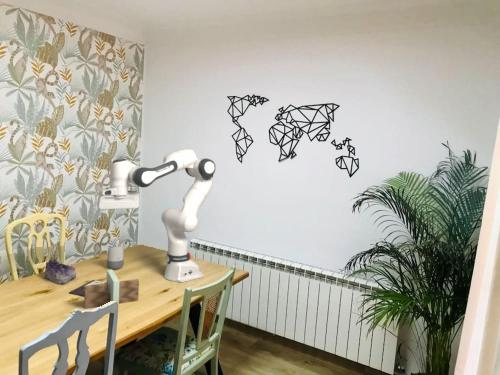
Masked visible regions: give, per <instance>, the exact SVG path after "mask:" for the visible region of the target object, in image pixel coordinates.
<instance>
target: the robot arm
mask: <svg viewBox="0 0 500 375" xmlns="http://www.w3.org/2000/svg"><path fill="white" fill-rule="evenodd" d="M183 170H184V171H185V172H186V174H187V176H190V177H192V178H194V181H193V184H191V186H190V187H189V188H188V190H187V192H186V193H185V195H184V196H183V197H182V202H183V206H182V208H181V209H177V208H166V209H165V210H164V211H163V212H162V214H161V221H162V223H163V224H164V227H165V231H166V234H167V240H168V243H167V253H166V268H165V271H164V275H163V278H164V279H165V280H168V281H171V282H172V281H174V282H178V283H186V282H189V281H193V280H198V279H202V278H203V277H204V273H203V272H202V271H201V270H200V266H199V265H198V263H196V261H194V260H193V258H194V255H193V254H192V253H190V252H189V251H188V249H189V248H188V247H189V240H188V237H187V236H186V233H192V232H195V230H196V229H197V228H198V226H199V220H198V213H199V210H200V209H201V206H202V205H203V203H205V200H206V198H207V197H208V196H209V194H210V192H211V190H212V187H213V182H212V179H213V178H214V175H215V172H216V163H215V162H214V161H213V160H212V159H210V158H198V157H197V154H196V153H195V151H194V150H193V149H191V148H184V149H178V150H174V151H172V152H169V153H167V154H166V155H165V156H164V157H163V161H162V163H161V164H159V165H156V166H154V167H145V166H144V167H143V166H140V165H136V164H135V163H133V162H130V161H129V160H128V159H126V158H118V159H115V160H113V161H112V162H111V165H110V172H109V177H110V183H109V186H108V187H105V188H101V189H100V190H99V193H100V194H99V195H98V197H97V203H96V207H97V209H98V210H100V211H102V210H104V212H105V214H106V218H107V219H111V213H109V210H125V209H126V210H128V212H127V213H126V212H125V217H126V218H130V214H131V213H132V211H133V209H139V207H140V200H139V198H140V192H139V191H137V190H129V184H133V185H136V186H138V187H141V188H148V187H149V186H151V185H152V184H153V183H154V182H155V181H157V180H159V179H162V178H163V177H166V176H168V175H170V174H172V173H176V172H179V171H183Z"/></svg>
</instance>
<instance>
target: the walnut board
mask: <svg viewBox="0 0 500 375" xmlns="http://www.w3.org/2000/svg"><path fill="white" fill-rule="evenodd" d="M139 283H140V281H139V279H138V278H137V279H129V280H128V279H127V280H122V281H120V280H119V305H120V304H126V303H131V302H137V301H139V293H140V292H139V289H140V284H139ZM108 290H109V285H108V283H107V282H105V283H104V284H96V285H89V286H85V292H84V297H83V298H84V299H83V301H84V302H83V303H84V304H83V305H84V306H83V307H84V310H85V309H86V310H88V309H94V308H100V307H99V306H101V307H103V306H102V305H104V304H106V303H108V302H110V298H111V296H110V294H109V293H108Z"/></svg>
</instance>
